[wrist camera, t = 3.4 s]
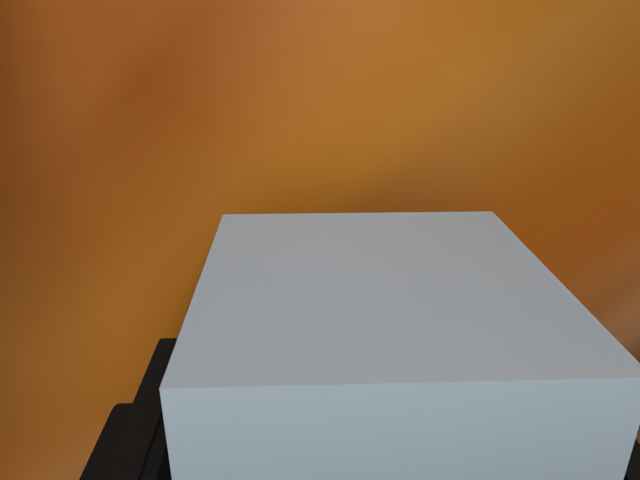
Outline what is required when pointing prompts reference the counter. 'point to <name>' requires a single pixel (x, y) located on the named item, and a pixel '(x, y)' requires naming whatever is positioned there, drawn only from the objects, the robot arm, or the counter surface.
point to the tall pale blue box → (392, 357)
